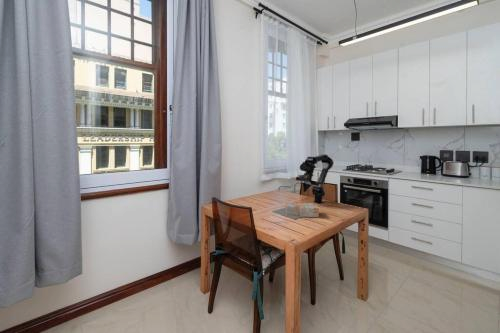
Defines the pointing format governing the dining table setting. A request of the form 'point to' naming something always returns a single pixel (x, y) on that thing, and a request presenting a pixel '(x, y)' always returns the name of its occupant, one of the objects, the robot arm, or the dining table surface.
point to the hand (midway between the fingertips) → (304, 191)
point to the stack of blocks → (302, 209)
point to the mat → (283, 212)
